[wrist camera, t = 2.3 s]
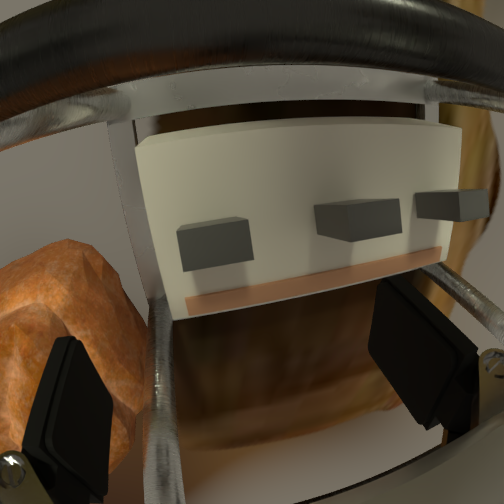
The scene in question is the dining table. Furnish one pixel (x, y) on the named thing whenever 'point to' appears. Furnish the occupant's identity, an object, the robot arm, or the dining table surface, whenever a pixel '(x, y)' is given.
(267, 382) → the dining table surface
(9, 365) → the bread
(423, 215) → the grey matte cuboid
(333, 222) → the dark grey rectangular box
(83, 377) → the robot arm
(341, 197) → the switch box
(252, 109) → the dining table surface
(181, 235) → the grey rectangular block
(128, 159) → the frame
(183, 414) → the dining table surface
